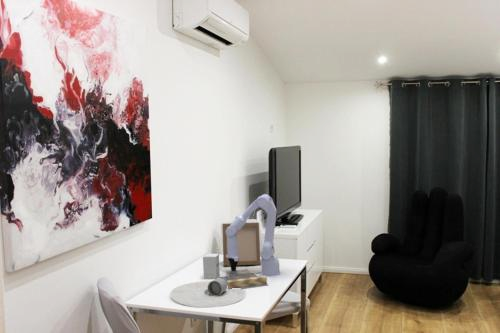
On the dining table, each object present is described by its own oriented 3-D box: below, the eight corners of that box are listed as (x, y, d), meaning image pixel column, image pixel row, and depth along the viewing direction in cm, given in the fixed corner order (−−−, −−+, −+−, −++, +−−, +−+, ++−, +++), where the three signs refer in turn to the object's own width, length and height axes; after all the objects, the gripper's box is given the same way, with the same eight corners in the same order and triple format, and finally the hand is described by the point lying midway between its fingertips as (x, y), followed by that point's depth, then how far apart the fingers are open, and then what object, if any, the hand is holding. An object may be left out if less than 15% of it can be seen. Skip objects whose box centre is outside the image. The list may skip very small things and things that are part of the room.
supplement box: (216, 280, 257) (215, 256, 256) (203, 279, 258) (202, 256, 257) (220, 276, 264) (219, 253, 263) (207, 275, 265) (206, 253, 265)
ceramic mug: (228, 291, 235) (227, 276, 235) (222, 297, 227) (221, 281, 227) (208, 291, 238) (207, 275, 238) (201, 296, 231) (200, 280, 230)
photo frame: (260, 266, 282) (258, 224, 281) (223, 267, 283) (221, 225, 281) (260, 259, 296) (259, 220, 295) (225, 261, 297) (224, 221, 296)
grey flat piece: (247, 274, 263) (246, 269, 263) (251, 278, 255) (251, 272, 255) (226, 277, 259) (225, 271, 259) (229, 281, 251) (229, 275, 251)
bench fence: (263, 281, 249) (263, 273, 248) (266, 284, 243) (266, 276, 243) (226, 286, 243) (226, 278, 242) (229, 289, 238) (228, 281, 237)
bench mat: (253, 273, 266) (253, 272, 266) (268, 286, 241) (268, 285, 241) (218, 278, 260) (218, 277, 260) (230, 291, 235) (230, 290, 235)
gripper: (222, 245, 272) (223, 268, 272) (228, 250, 258) (230, 275, 259) (234, 244, 274) (235, 267, 275) (241, 249, 260) (242, 273, 261)
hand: (233, 271), depth 267 cm, fingers closed
